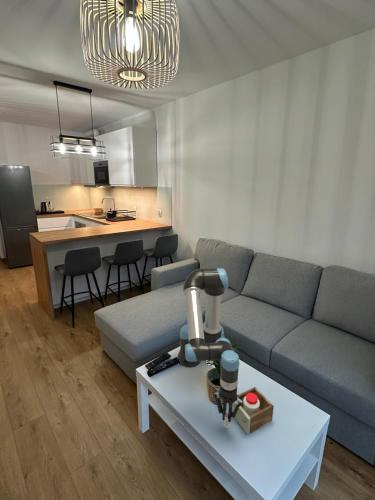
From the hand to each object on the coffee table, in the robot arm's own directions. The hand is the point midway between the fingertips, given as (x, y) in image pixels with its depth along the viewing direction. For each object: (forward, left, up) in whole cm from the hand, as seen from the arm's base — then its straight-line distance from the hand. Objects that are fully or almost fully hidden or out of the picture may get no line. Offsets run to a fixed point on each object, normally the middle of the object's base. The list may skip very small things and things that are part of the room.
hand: (226, 425), depth 121 cm
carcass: (0, +15, -3) cm, 16 cm away
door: (0, +7, -2) cm, 7 cm away
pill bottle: (0, +14, -2) cm, 14 cm away
